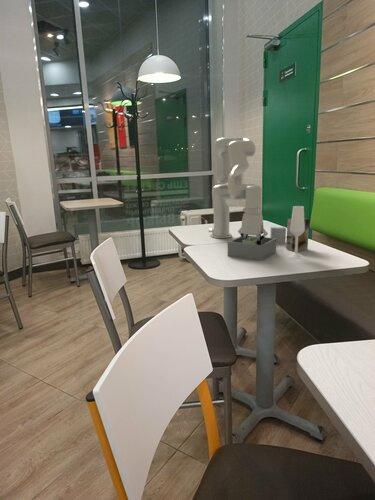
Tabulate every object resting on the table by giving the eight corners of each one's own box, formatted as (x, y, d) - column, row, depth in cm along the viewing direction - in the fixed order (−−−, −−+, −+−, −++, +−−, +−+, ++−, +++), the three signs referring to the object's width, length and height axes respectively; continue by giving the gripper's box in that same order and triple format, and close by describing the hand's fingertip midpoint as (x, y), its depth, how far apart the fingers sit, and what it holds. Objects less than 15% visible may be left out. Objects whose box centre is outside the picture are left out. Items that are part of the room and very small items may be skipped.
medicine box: (284, 241, 201) (284, 226, 199) (285, 243, 197) (286, 228, 195) (270, 241, 202) (270, 226, 200) (271, 243, 198) (271, 228, 195)
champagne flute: (304, 255, 171) (307, 206, 165) (301, 259, 166) (304, 207, 160) (290, 254, 175) (293, 205, 169) (286, 257, 169) (289, 207, 163)
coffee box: (292, 251, 179) (293, 220, 175) (285, 248, 185) (287, 218, 182) (308, 249, 182) (309, 218, 178) (301, 247, 188) (302, 217, 184)
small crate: (242, 250, 173) (242, 240, 172) (250, 246, 181) (251, 236, 180) (253, 251, 170) (253, 241, 169) (261, 247, 178) (262, 237, 177)
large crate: (227, 256, 174) (227, 241, 172) (243, 248, 189) (243, 235, 187) (261, 260, 164) (262, 245, 163) (276, 252, 179) (276, 238, 177)
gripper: (233, 211, 173) (233, 247, 177) (266, 213, 163) (265, 251, 168) (240, 209, 179) (239, 244, 183) (272, 211, 169) (271, 247, 174)
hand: (252, 247), depth 176 cm, fingers closed on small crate, 6 cm apart
